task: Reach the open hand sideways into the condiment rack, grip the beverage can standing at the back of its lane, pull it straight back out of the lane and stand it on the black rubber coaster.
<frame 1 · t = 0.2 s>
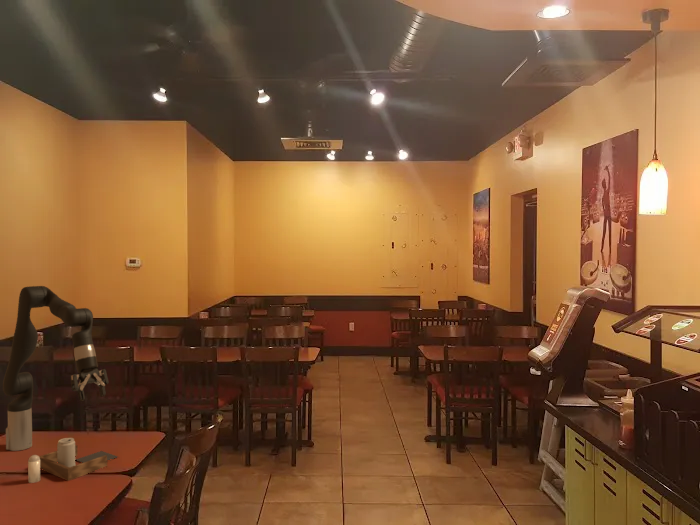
hand: (93, 398, 216), 30 cm above the table, tool tilted 20°, fingers open, 8 cm apart
beverage can: (66, 469, 223), resting in condiment rack
condiment rack: (66, 469, 223), on the table
coaster: (96, 459, 234), on the table
salt shaker: (34, 480, 212), on the table
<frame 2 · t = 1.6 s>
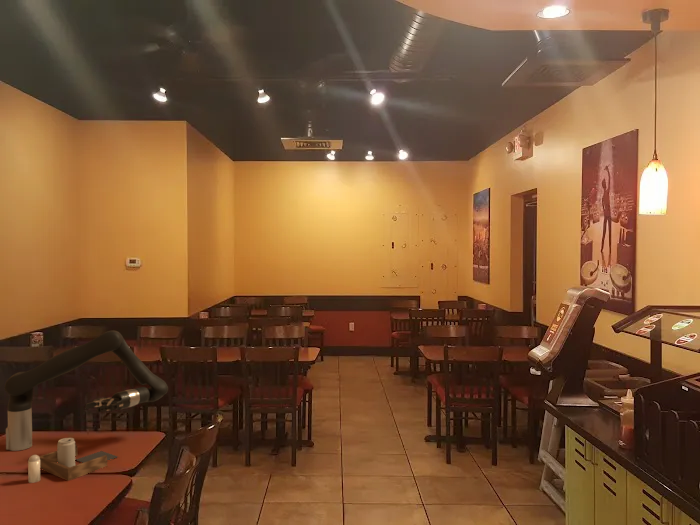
hand: (91, 408, 231), 22 cm above the table, tool horizontal, fingers open, 8 cm apart
nothing on the table moved.
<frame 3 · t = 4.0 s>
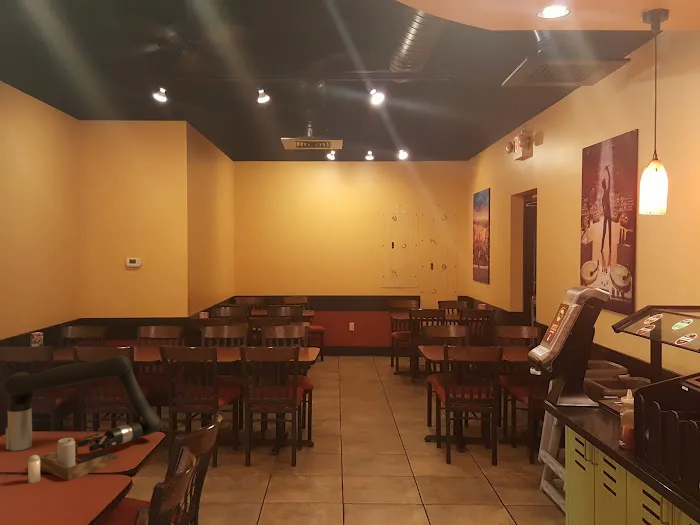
hand: (83, 446, 229), 7 cm above the table, tool horizontal, fingers open, 8 cm apart
nothing on the table moved.
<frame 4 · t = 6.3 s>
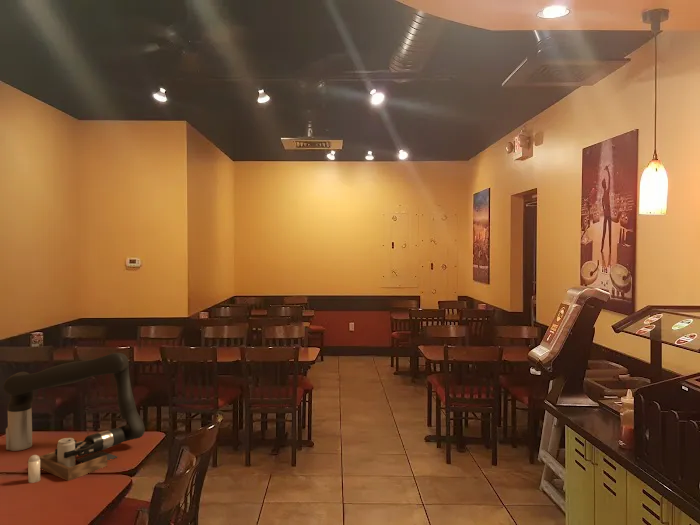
hand: (60, 453, 221), 7 cm above the table, tool horizontal, fingers closed on beverage can, 5 cm apart
beverage can: (66, 469, 223), resting in condiment rack, touching gripper
everything else where it was.
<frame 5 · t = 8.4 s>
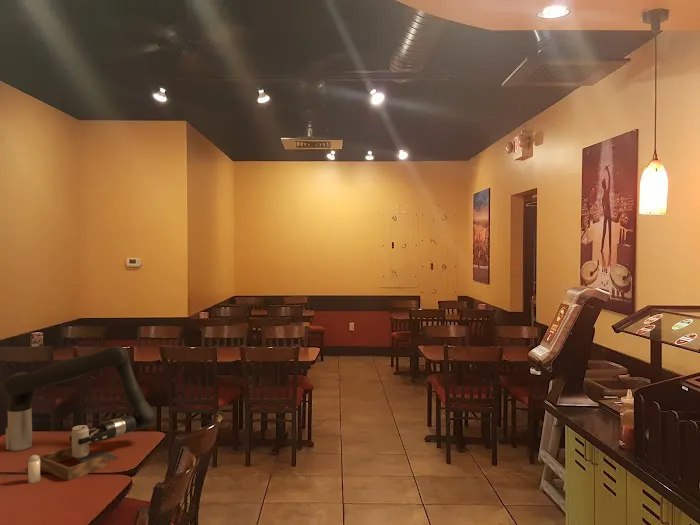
hand: (74, 440, 225), 11 cm above the table, tool horizontal, fingers closed on beverage can, 5 cm apart
beverage can: (80, 456, 227), point 3 cm above the table, touching gripper
everything else where it was.
when the fingers open (8 cm above the table, at t = 10.8 s): beverage can stays where it is, resting on coaster.
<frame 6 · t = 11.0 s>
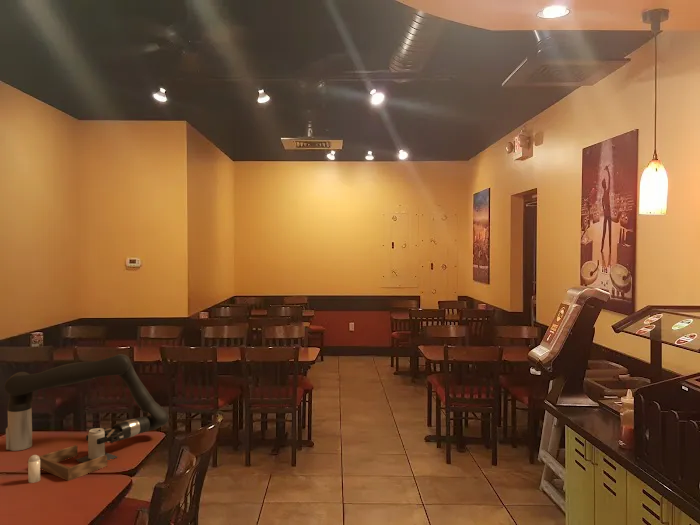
hand: (91, 440, 232), 9 cm above the table, tool horizontal, fingers open, 7 cm apart
beverage can: (96, 458, 234), resting on coaster
everything else where it was.
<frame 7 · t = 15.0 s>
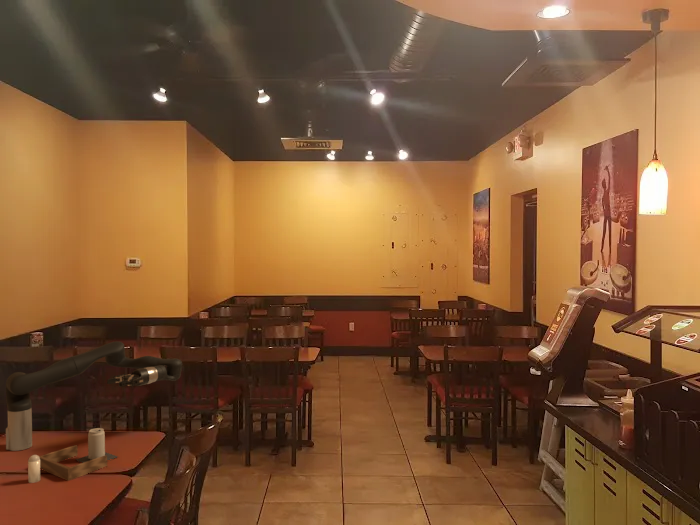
hand: (113, 383, 242), 30 cm above the table, tool horizontal, fingers open, 8 cm apart
nothing on the table moved.
at the end: beverage can 0.1 cm from the coaster (horizontally); beverage can tilted 0°; the gripper is holding nothing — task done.
